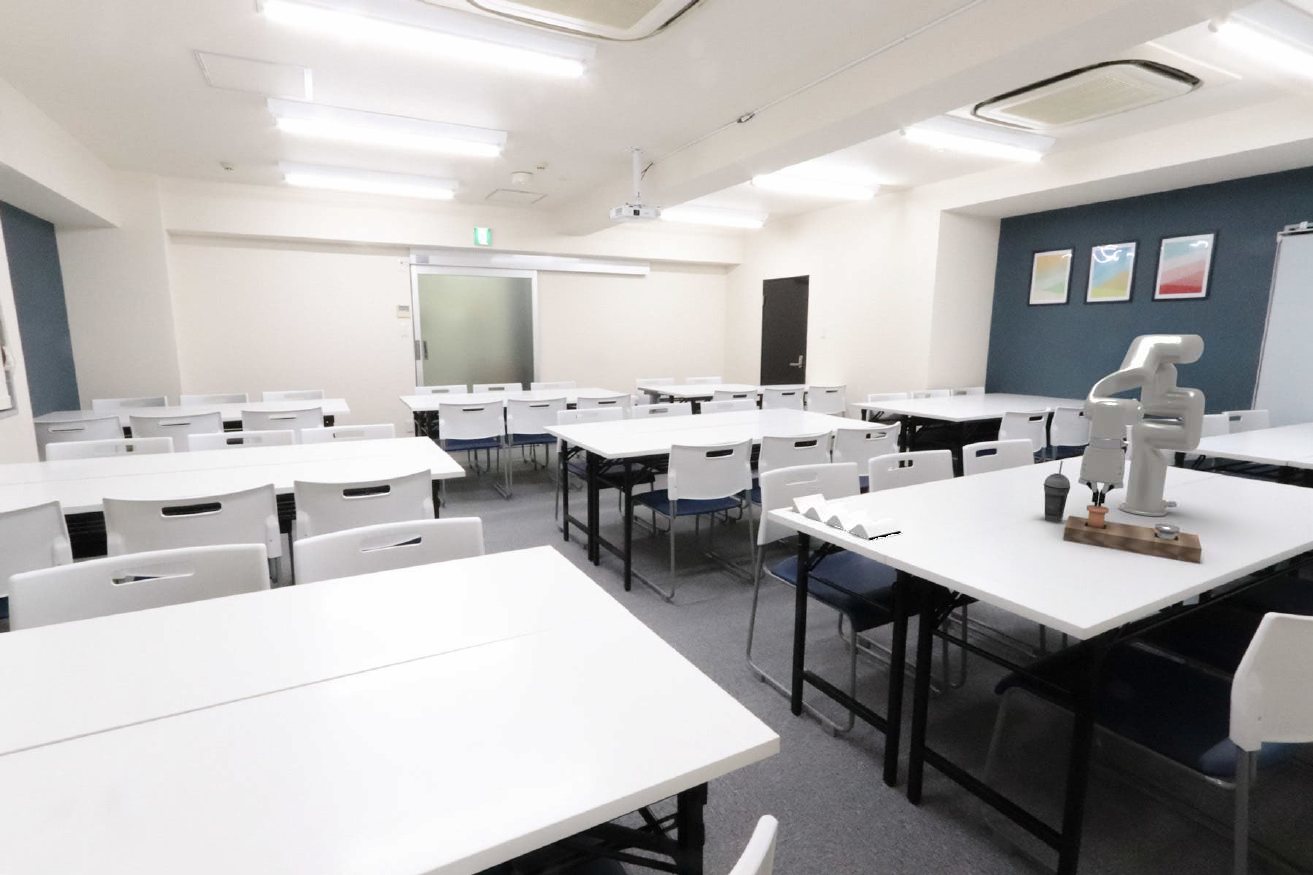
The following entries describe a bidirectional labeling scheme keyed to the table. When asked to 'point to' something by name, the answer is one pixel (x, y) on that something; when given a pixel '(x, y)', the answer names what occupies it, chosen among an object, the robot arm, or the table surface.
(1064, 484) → the beverage cup
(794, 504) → the file organizer
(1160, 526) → the grey plunger
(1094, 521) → the terracotta plunger
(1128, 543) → the button board
